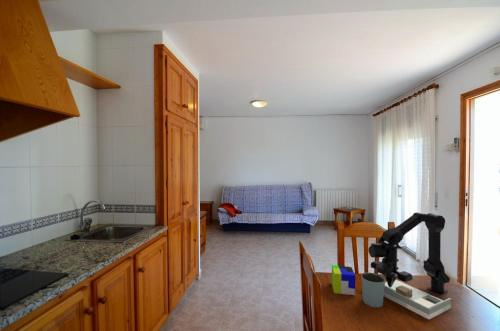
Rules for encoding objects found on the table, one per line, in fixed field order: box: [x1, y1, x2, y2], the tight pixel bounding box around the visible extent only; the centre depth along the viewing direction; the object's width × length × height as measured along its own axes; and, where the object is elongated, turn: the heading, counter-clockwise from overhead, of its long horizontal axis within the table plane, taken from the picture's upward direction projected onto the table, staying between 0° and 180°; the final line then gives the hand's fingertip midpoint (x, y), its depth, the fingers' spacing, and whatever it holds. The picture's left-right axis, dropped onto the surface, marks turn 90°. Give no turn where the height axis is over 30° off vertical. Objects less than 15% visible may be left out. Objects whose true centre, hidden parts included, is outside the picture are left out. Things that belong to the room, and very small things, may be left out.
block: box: [396, 285, 412, 298], centre depth 118 cm, size 5×5×3 cm
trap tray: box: [383, 279, 452, 320], centre depth 118 cm, size 18×26×4 cm
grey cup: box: [360, 272, 386, 308], centre depth 115 cm, size 10×10×12 cm
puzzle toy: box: [331, 264, 356, 296], centre depth 127 cm, size 10×10×10 cm
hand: (390, 287), depth 124 cm, fingers closed
